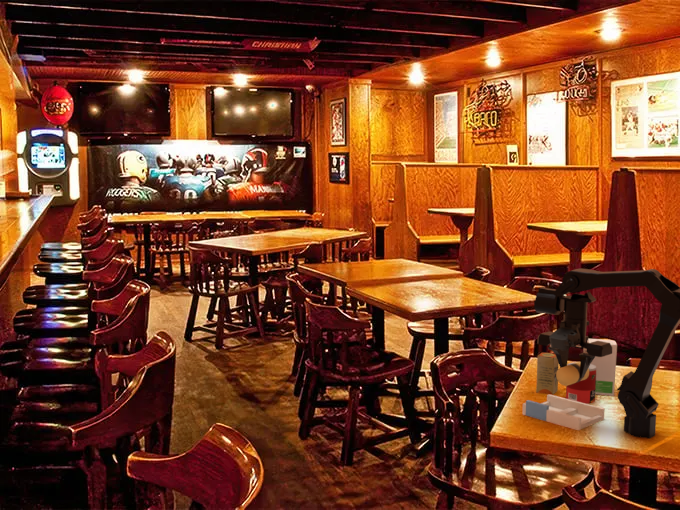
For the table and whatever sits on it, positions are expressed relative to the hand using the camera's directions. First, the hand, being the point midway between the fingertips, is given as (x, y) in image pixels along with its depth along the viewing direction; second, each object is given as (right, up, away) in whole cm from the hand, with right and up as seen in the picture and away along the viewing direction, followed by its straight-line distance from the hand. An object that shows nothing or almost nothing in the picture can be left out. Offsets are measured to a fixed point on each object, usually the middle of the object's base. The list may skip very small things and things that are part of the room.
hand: (572, 375), depth 201 cm
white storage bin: (-2, -12, +3) cm, 13 cm away
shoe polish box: (0, -10, +26) cm, 28 cm away
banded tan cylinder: (0, -2, 0) cm, 2 cm away
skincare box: (+17, -10, +29) cm, 35 cm away
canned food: (+8, -11, +18) cm, 23 cm away
